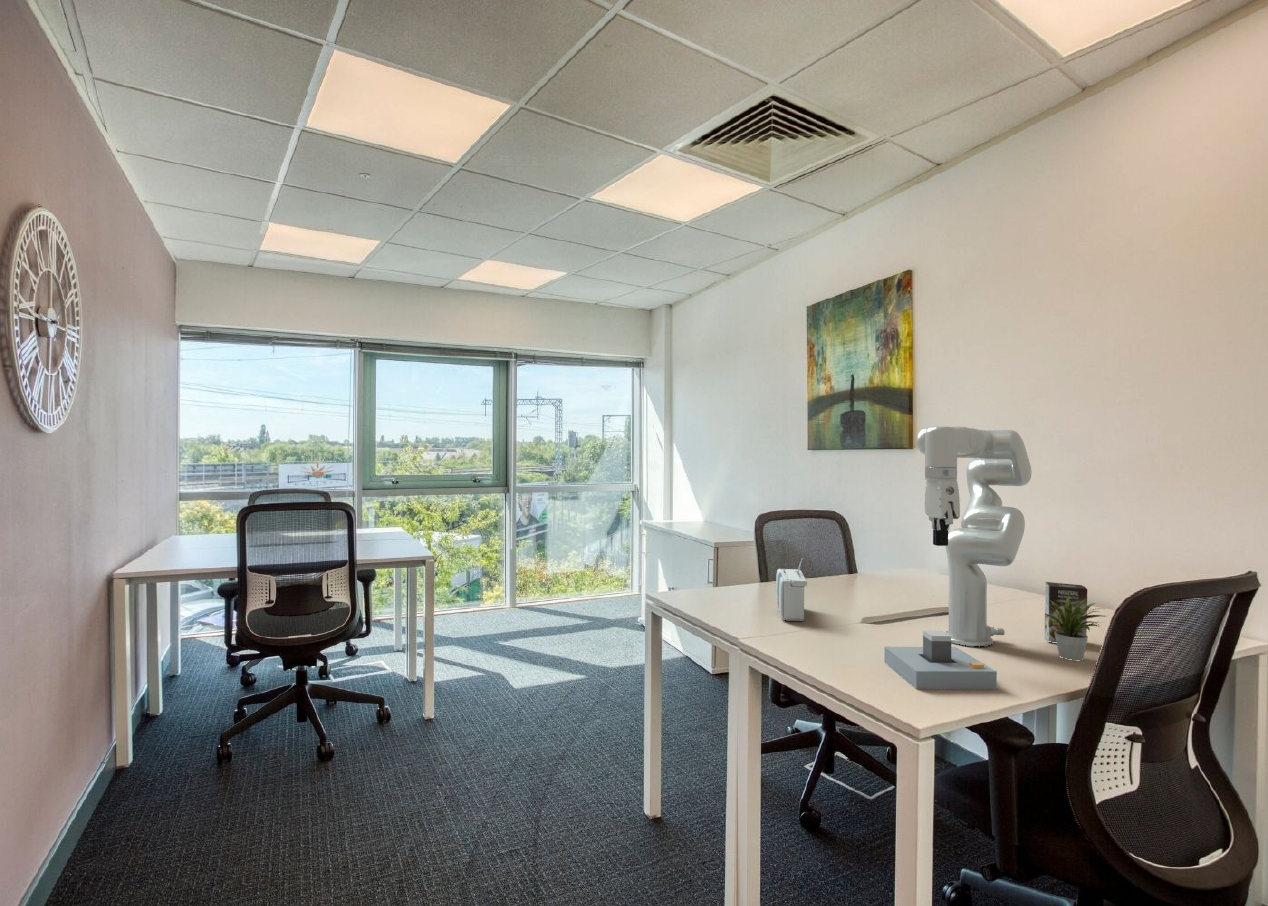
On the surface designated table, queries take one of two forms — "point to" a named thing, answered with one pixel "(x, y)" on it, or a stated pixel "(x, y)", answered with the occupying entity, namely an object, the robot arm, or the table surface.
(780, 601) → the stereo radio cassette player
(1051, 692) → the table surface
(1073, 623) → the house plant
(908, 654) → the socket
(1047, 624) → the coffee box
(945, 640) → the plug
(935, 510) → the robot arm
